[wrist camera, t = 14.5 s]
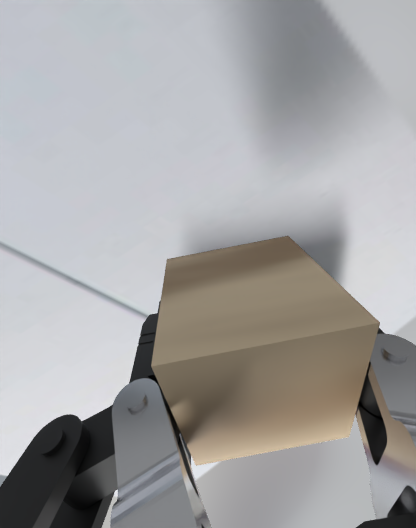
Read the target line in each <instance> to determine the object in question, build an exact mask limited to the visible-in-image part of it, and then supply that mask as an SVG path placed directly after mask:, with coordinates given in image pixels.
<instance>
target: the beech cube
mask: <svg viewBox="0 0 416 528" xmlns="http://www.w3.org/2000/svg"><path fill="white" fill-rule="evenodd" d="M379 325H380V322H379V321H378V320H377V319H375V318H374V317H373V316H372V315H371V314H370V313H369V312H368V311H367V310H366V309H365V308H364V307H363V306H362V305H361V304H360V303H359V302H358V301H356V300H355V299H354V298H353V297H352V296H351V295H350V294H349V293H348V292H347V291H346V290H345V289H344V288H343V287H342V286H341V285H340V284H339V283H337V282H336V281H335V280H334V279H333V278H332V277H331V276H330V275H329V274H328V273H327V272H326V271H325V270H324V269H323V268H322V267H321V266H320V265H318V264H317V263H316V262H315V261H314V260H313V259H312V258H311V257H310V256H309V255H308V254H307V253H306V252H305V251H304V250H303V249H302V248H301V247H299V246H298V245H297V244H296V243H295V242H294V241H293V240H292V239H291V238H290V237H289V236H285V237H280V238H274V239H269V240H264V241H259V242H254V243H248V244H243V245H238V246H233V247H228V248H223V249H217V250H212V251H207V252H202V253H197V254H192V255H186V256H181V257H176V258H171V259H167V263H166V269H165V276H164V283H163V290H162V296H161V303H160V310H159V317H158V323H157V330H156V337H155V343H154V350H153V357H152V364H151V367H152V370H153V372H154V374H155V376H156V378H157V381H158V383H159V385H160V387H161V389H162V392H163V394H164V396H165V398H166V400H167V403H168V405H169V407H170V409H171V411H172V414H173V416H174V418H175V420H176V423H177V425H178V427H179V429H180V431H181V434H182V436H183V438H184V440H185V442H186V445H187V447H188V449H189V451H190V453H191V456H192V458H193V460H194V462H195V465H196V466H197V465H202V464H207V463H213V462H218V461H223V460H229V459H234V458H239V457H245V456H250V455H255V454H261V453H266V452H271V451H276V450H282V449H287V448H292V447H297V446H303V445H308V444H314V443H319V442H324V441H330V440H335V439H340V438H346V437H349V435H350V432H351V428H352V424H353V421H354V416H355V413H356V409H357V406H358V402H359V398H360V395H361V391H362V387H363V384H364V380H365V376H366V373H367V369H368V365H369V362H370V358H371V354H372V350H373V347H374V343H375V339H376V336H377V332H378V328H379Z"/></svg>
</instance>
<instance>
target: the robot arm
mask: <svg viewBox="0 0 416 528" xmlns="http://www.w3.org/2000/svg"><path fill="white" fill-rule="evenodd" d="M160 303H161V301H160V302H159V308H158V313H157V314H151V315H149V316H148V318H147V319H146V321H145V322H144V323H143V325H142V330H141V334H140V335H141V337H140V339H139V343H138V344H139V346H138V347H137V352H136V356H135V361H134V365H133V370H132V374H131V378H130V382H129V384H128V385H126V386H125V387H124V388H123V389H122V390H121V391H120V392H119V394H118V395H117V397H116V399H115V401H114V403H113V405H111V406H110V407H109V408H107V409H105V410H103V411H101V412H99V413H97V414H95V415H93V416H91V417H90V418H88V419H86V420H84V421H81V420H80V419H79V418H78V417H77V416H75V415H63V416H61V417H58V418H56V419H54V420H53V421H51V422H50V423H48V424H47V425H46V426H45V427H43V428H42V429H41V430H40V431H39V432H38V434H37V435H36V436H35V437H34V439H33V440H32V441H31V443H30V444H29V446H28V447H27V449H26V450H25V452H24V453H23V454H22V456H21V457H20V459H19V460H18V462H17V463H16V465H15V466H14V468H13V469H12V470H11V472H10V473H9V475H8V476H7V478H6V479H5V481H4V482H3V484H2V485H1V487H0V528H101V527H102V525H103V522H104V519H105V517H106V514H107V511H108V508H109V505H110V503H111V500H112V497H113V495H114V492H115V490H117V489H118V499H117V502H116V503H115V504H114V505H113V508H112V512H111V528H212V527H211V524H210V521H209V518H208V516H207V513H206V510H205V508H204V505H203V502H202V499H201V497H200V493H199V490H198V487H197V484H196V481H195V478H194V475H193V472H192V469H191V466H190V462H189V459H188V456H187V453H186V450H185V447H184V444H183V441H182V438H181V435H180V429H179V427H178V425H177V423H176V420H175V418H174V416H173V414H172V411H171V409H170V407H169V405H168V403H167V400H166V398H165V396H164V394H163V392H162V389H161V387H160V385H159V383H158V381H157V378H156V376H155V374H154V372H153V370H152V367H151V364H152V357H153V350H154V343H155V337H156V330H157V323H158V317H159V310H160ZM355 414H356V418H357V422H358V425H359V429H360V433H361V437H362V441H363V445H364V449H365V453H366V456H367V461H368V465H369V470H370V488H371V496H372V502H373V507H374V511H375V515H376V520H371V521H365V522H363V523H362V524H360V525H359V526H358V527H356V528H416V346H415V345H414V344H413V343H411V342H409V341H407V340H406V339H403V338H401V337H398V336H395V335H391V334H385V333H384V332H383V331H382V330H381V329H380V328H378V332H377V336H376V339H375V343H374V347H373V350H372V354H371V358H370V362H369V365H368V369H367V373H366V376H365V380H364V384H363V387H362V391H361V395H360V398H359V402H358V406H357V409H356V413H355Z"/></svg>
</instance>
